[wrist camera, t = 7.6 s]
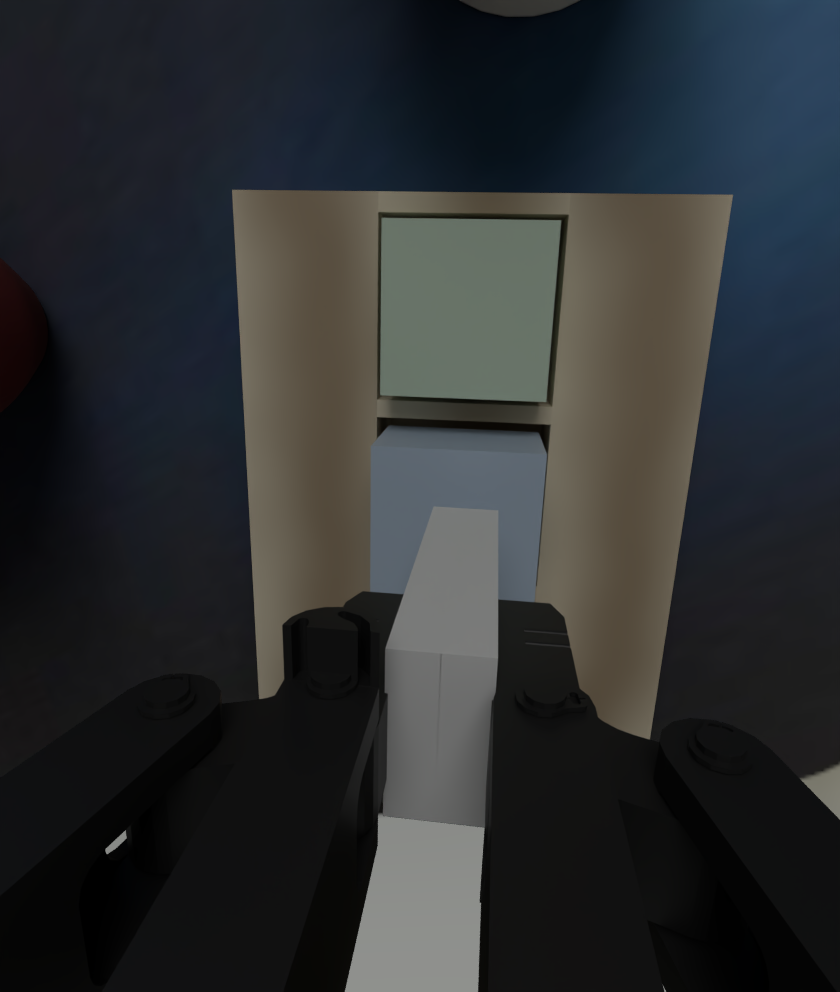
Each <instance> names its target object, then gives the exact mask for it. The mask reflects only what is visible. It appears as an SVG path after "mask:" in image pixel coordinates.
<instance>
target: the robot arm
mask: <svg viewBox="0 0 840 992" xmlns="http://www.w3.org/2000/svg"><path fill="white" fill-rule="evenodd" d="M282 633H283V660H284V680H283V682H282V684H281V686H280V687H279V689H278V691H277V692H276V694H275V696H271V697H268V698H263V699H258V700H252V701H243V702H233V703H224V704H222V701H221V690H220V689H219V687H218V686H217V685H216V683H215V682H214V681H212V680H210V679H208V678H205V677H203V676H200V675H192V674H175V675H173V674H169V675H163V676H160V677H158V678H154V679H151V680H147V681H144V682H142V683H140V684H138V685H137V686H135V687H133V688H131V689H129V690H127V691H126V692H124V693H123V694H121V695H120V696H118V697H117V698H116V699H114V700H113V701H111V702H110V703H108V704H107V705H105V706H104V707H102V708H101V709H100V710H98V711H97V712H95V713H94V714H92V715H91V716H89V717H88V718H87V719H85V720H84V721H82V722H81V723H79V724H78V725H76V726H75V727H74V728H72V729H71V730H69V731H68V732H66V733H65V734H63V735H62V736H60V737H59V738H58V739H56V740H55V741H53V742H52V743H50V744H49V745H47V746H46V747H45V748H43V749H42V750H40V751H39V752H37V753H36V754H34V755H33V756H32V757H30V758H29V759H27V760H26V761H24V762H23V763H21V764H20V765H19V766H17V767H16V768H14V769H13V770H11V771H10V772H8V773H7V774H5V775H4V776H3V777H1V778H0V992H345V988H346V983H347V978H348V975H349V970H350V966H351V961H352V957H353V952H354V948H355V943H356V939H357V934H358V930H359V926H360V921H361V917H362V912H363V908H364V903H365V899H366V894H367V890H368V886H369V881H370V877H371V872H372V868H373V863H374V858H375V855H376V850H377V846H378V845H377V844H378V813H379V809H380V805H381V801H382V796H383V816H388V817H397V818H405V819H414V820H423V821H431V822H440V823H449V824H458V825H467V826H475V827H484V828H485V831H484V846H483V860H482V875H481V891H480V902H481V923H480V955H479V983H478V984H479V985H478V992H664V988H665V990H666V992H840V820H839V819H838V818H837V816H836V815H835V814H834V813H833V812H832V811H831V810H830V809H829V808H828V807H827V806H826V805H825V804H824V803H823V802H822V801H821V800H820V799H819V798H818V797H817V796H816V795H815V794H814V793H813V792H812V791H811V790H810V789H809V788H808V787H807V786H806V785H805V784H804V783H803V782H802V781H801V780H800V779H799V778H798V777H797V776H796V775H795V773H794V772H793V771H792V770H791V769H790V768H789V767H788V766H787V765H786V764H785V763H784V762H783V761H782V760H781V759H780V758H779V757H778V756H777V755H776V754H775V753H774V752H773V751H772V750H771V749H770V748H768V747H767V746H766V745H765V744H763V743H762V742H761V741H759V740H758V739H757V738H756V737H754V736H752V735H750V734H748V733H746V732H744V731H742V730H740V729H738V728H736V727H734V726H732V725H729V724H726V723H723V722H722V723H721V722H719V721H714V720H709V719H693V718H688V719H683V720H679V721H674V722H672V723H670V724H669V725H668V726H666V727H665V728H664V729H662V732H661V737H660V741H659V742H656V741H653V740H649V739H646V738H643V737H639V736H636V735H633V734H630V733H627V732H624V731H622V730H619V729H617V728H615V727H613V726H611V725H609V724H607V723H605V722H604V721H602V720H601V719H600V718H598V715H597V711H596V707H595V705H594V704H593V702H592V700H591V698H590V697H589V695H587V694H586V693H585V692H584V691H582V690H581V689H580V687H579V683H578V678H577V673H576V669H575V664H574V660H573V655H572V650H571V648H570V641H569V636H568V635H567V633H568V632H567V627H566V623H565V618H564V616H563V615H562V614H561V613H560V612H559V611H557V610H556V609H555V608H554V607H553V606H552V605H551V604H550V603H539V602H525V601H512V600H499V599H498V510H484V509H468V508H451V507H435V506H434V507H433V510H432V513H431V516H430V519H429V522H428V524H427V527H426V530H425V533H424V536H423V539H422V542H421V545H420V548H419V551H418V554H417V557H416V560H415V563H414V566H413V569H412V571H411V574H410V577H409V580H408V583H407V586H406V589H405V592H404V594H394V593H380V592H367V591H362V592H361V593H359V594H357V595H356V596H354V597H353V598H351V599H350V600H348V601H347V602H345V604H344V606H343V607H322V608H316V609H311V610H306V611H304V612H301V613H299V614H297V615H294V616H292V617H291V618H289V619H288V620H287V621H286V622H285V623H284V624H283V625H282ZM125 830H126V836H127V839H126V840H125V841H124V842H123V843H122V844H120V845H119V846H118V848H116V849H115V850H113V851H112V852H110V853H109V854H106V852H105V849H106V848H107V847H108V846H109V845H110V844H111V843H112V842H113V841H114V840H115V839H116V838H117V837H119V836H120V835H121V834H122V833H123V832H124V831H125ZM663 986H664V988H663Z"/></svg>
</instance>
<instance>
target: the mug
mask: <svg viewBox="0 0 840 992" xmlns="http://www.w3.org/2000/svg"><path fill="white" fill-rule="evenodd" d="M47 342H48V328H47V321H46V317H45V314H44V311H43V308H42V306H41V304H40V302H39V300H38V298H37V297H36V295H35V294H34V292H33V291H32V289H31V288H30V287H29V286H28V285H27V283H26V282H25V281H24V280H23V279H22V278H21V277H20V276H19V275H18V274H17V273H16V272H15V271H14V270H12V269H11V268H10V267H9V266H8V265H7V264H6V263H5V262H4V261H3V260H2V259H1V258H0V413H1V412H2V411H3V410H4V409H6V408H7V407H8V406H9V405H10V404H11V403H12V402H13V401H14V400H15V399H16V398H17V397H18V396H19V394H20V393H21V392H22V391H23V389H24V388H25V387H26V385H27V384H28V383H29V381H30V379H31V378H32V376H33V375H34V373H35V371H36V370H37V368H38V367H39V365H40V363H41V362H42V360H43V357H44V355H45V352H46V348H47Z"/></svg>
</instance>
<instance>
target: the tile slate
mask: <svg viewBox="0 0 840 992" xmlns="http://www.w3.org/2000/svg"><path fill="white" fill-rule="evenodd" d="M546 461H547V453H546V451H545V448H544V445H543V443H542V440H541V438H540V435H539V433H538V432H526V431H504V430H482V429H460V428H438V427H416V426H394V425H389V426H388V427H387V428H386V429H385V430H384V432H383V433H382V434H381V435H380V436H379V437H378V438H377V439H376V441H375V442H374V443H373V444H372V445H371V522H370V592H380V593H394V594H404V592H405V589H406V586H407V583H408V580H409V577H410V574H411V571H412V569H413V566H414V563H415V560H416V557H417V554H418V551H419V548H420V545H421V542H422V539H423V536H424V533H425V530H426V527H427V524H428V522H429V519H430V516H431V513H432V510H433V507H434V506H435V507H451V508H468V509H484V510H498V599H499V600H512V601H525V602H534V601H535V589H536V578H537V566H538V554H539V543H540V531H541V519H542V507H543V496H544V484H545V472H546Z"/></svg>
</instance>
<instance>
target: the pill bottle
mask: <svg viewBox="0 0 840 992" xmlns="http://www.w3.org/2000/svg"><path fill="white" fill-rule="evenodd" d="M459 1H461V2H463V3H465V4H467V5H469V6H471V7H473V8H475V9H477V10H480V11H482V12H487V13H491V14H496V15H500V16H505V17H534V16H538V15H542V14H546V13H550V12H554V11H559V10H562V9H564V8H566V7H568V6H570V5H572V4H574V3H576V2H578V1H580V0H459Z"/></svg>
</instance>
